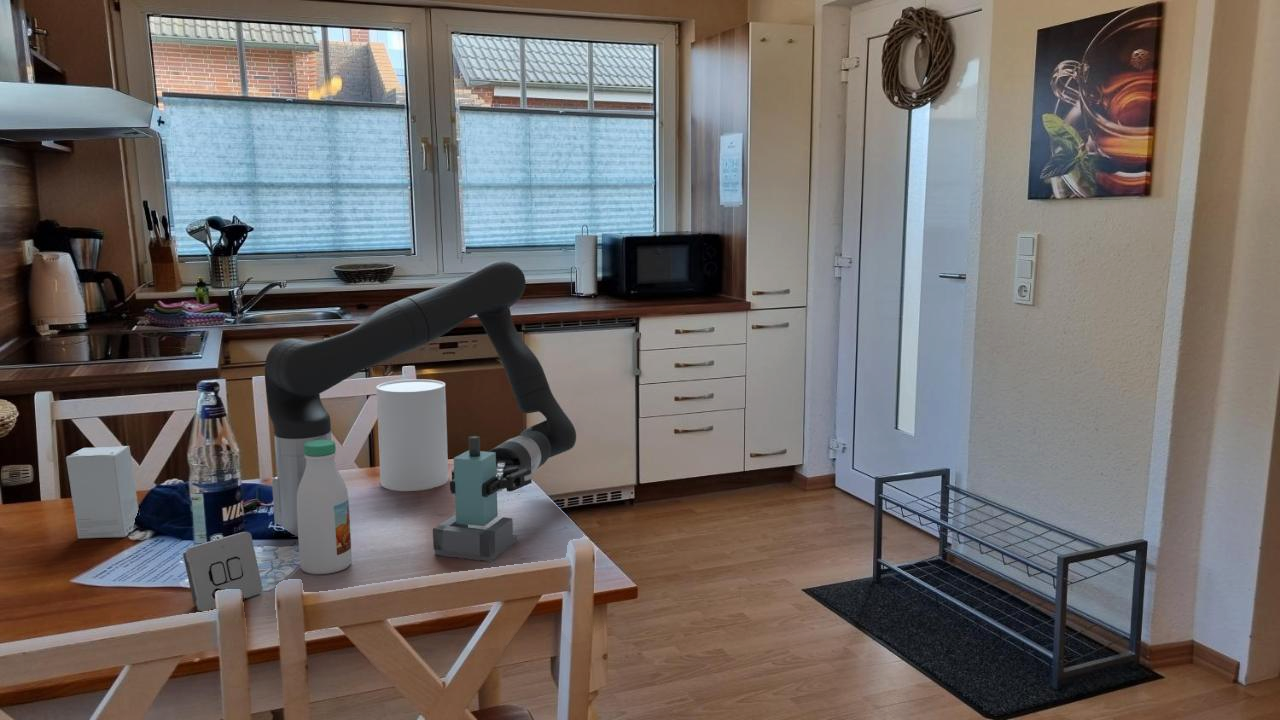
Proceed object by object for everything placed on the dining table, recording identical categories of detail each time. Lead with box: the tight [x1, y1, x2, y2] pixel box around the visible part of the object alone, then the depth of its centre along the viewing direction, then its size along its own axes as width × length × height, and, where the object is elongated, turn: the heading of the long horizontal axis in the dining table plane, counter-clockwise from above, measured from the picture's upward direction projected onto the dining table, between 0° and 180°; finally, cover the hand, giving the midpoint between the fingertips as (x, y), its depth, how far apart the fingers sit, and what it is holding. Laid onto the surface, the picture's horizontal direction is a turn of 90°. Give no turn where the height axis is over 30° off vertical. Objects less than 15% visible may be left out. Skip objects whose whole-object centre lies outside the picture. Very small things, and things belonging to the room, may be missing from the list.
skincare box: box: [65, 445, 140, 540], centre depth 161 cm, size 8×6×15 cm
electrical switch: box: [182, 531, 263, 612], centre depth 135 cm, size 9×5×9 cm, turn 141°
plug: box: [453, 435, 499, 527], centre depth 154 cm, size 5×5×14 cm
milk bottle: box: [297, 439, 353, 575], centre depth 146 cm, size 8×8×20 cm
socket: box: [432, 513, 518, 563], centre depth 155 cm, size 10×10×4 cm
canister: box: [375, 378, 449, 492], centre depth 191 cm, size 14×14×20 cm
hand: (468, 489), depth 151 cm, fingers closed on plug, 5 cm apart
